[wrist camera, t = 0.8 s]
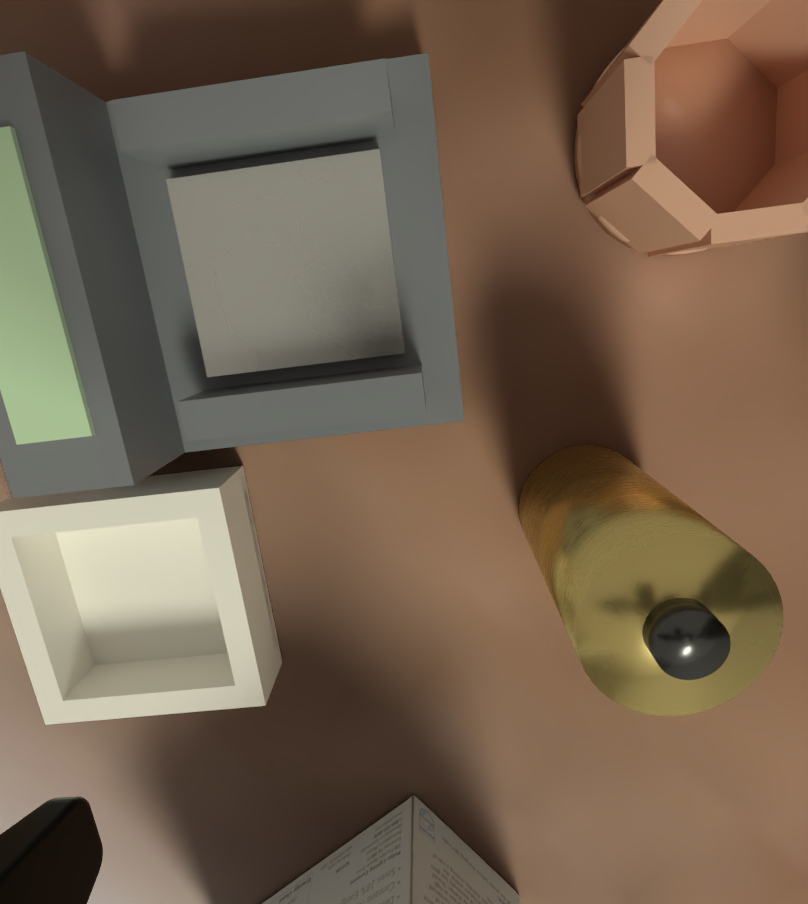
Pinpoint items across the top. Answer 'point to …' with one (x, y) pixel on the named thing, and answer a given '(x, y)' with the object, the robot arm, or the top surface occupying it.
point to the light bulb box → (401, 867)
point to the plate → (289, 263)
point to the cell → (647, 585)
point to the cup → (700, 128)
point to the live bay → (140, 597)
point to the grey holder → (164, 279)
